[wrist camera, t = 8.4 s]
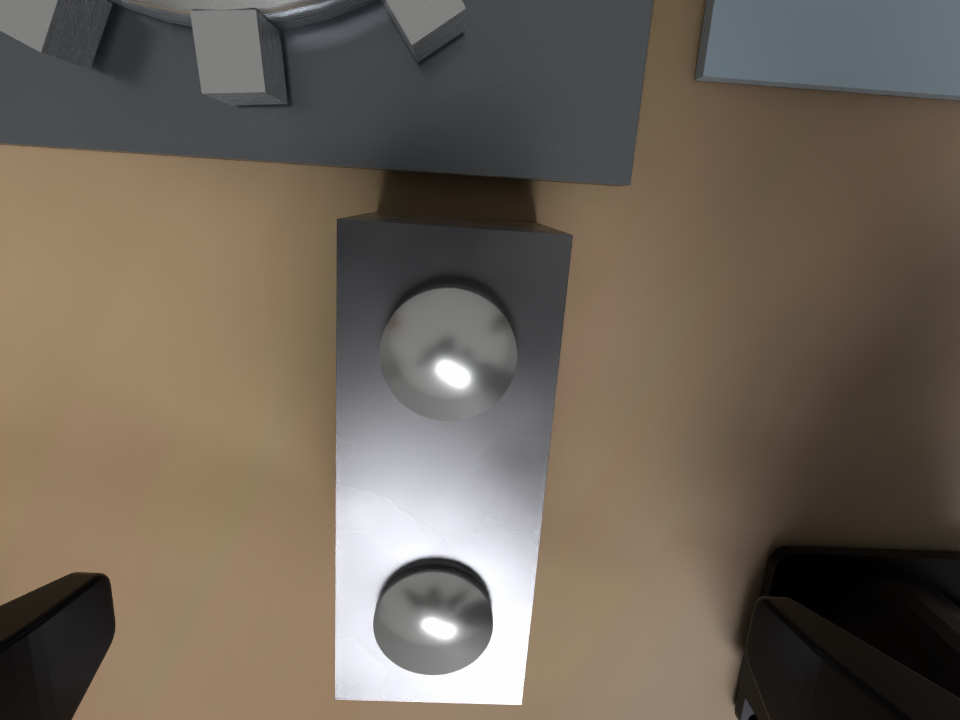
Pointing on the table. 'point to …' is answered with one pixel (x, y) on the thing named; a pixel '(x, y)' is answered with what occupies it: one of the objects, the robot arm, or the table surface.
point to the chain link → (442, 450)
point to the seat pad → (834, 45)
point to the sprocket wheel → (223, 34)
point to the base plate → (361, 94)
